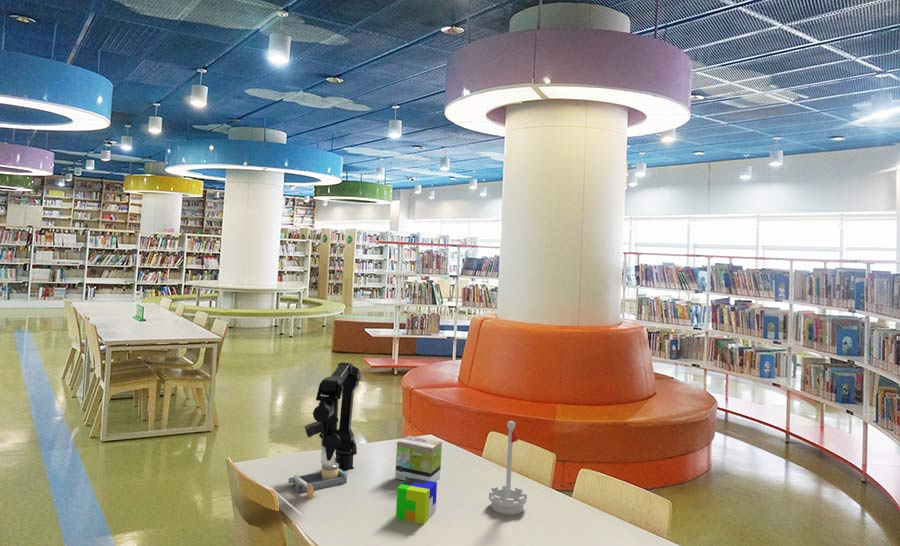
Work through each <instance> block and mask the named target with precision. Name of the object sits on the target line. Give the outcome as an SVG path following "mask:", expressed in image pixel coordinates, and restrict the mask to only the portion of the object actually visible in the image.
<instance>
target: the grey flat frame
mask: <svg viewBox="0 0 900 546" xmlns="http://www.w3.org/2000/svg"><path fill="white" fill-rule="evenodd" d="M297 476H298V477H300V478H301V479H302V480H304V481H305V482H307V483H308V484H311V485H313V486H314V487H313V491H315V490H320V489H325V488H329V487H333V486H340V485H343V484H347V481H348V473H347V472H345V471H342V470H341V469H339V468H338V478H335V479H330V480H325V481H321V480H322V471H317V472H313V473H307V474H304V475H297ZM294 482H295V480H294V476H292V477H288V483H287V484H289V483H294ZM290 487H291V488H292V489H294V490H295V491H296V492H297V493H299V494H302V493H307V487H305V486H304V485H300V484H299V483H296V484H294V485H290Z"/></svg>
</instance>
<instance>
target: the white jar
mask: <svg viewBox="0 0 900 546" xmlns="http://www.w3.org/2000/svg"><path fill="white" fill-rule="evenodd" d="M320 446H321V448H320V449H321V450H320V451H321V453H320V464H321V465H322V464H325V465H330V464H334V463H335V458H336V454H335V452H334V454H333V456H332V458H331V460H330V461H327V456H326V449H325V447H324V446H322V444H321V443H320ZM335 451H336V450H335Z"/></svg>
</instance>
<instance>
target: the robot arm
mask: <svg viewBox="0 0 900 546" xmlns="http://www.w3.org/2000/svg"><path fill="white" fill-rule="evenodd" d="M361 378H362V373H361V370H360V369H359V368H358V367H356V366H354V364H353V363H351V362H342V361H341V362H339V363H338V365H337V367H336V368H335V370H334V371H333V372H332V374H331V375H330V376H326V377H324V378H323V379H322V380H321V382H319V386H318V390H317V393H316V398H315V401H319V402H318V405H317V406H316V407H314V409H313V412H312V415H313V419H314V420H315V421H314V422H312V423H309V424H306V425H305V426H304V431H305V434H306V436H307V438H312V437H313V436H316V435H318V436H319V438H321V441H320V442H321V443H320V445H321V444H322V446H324V447H325V449H326V456H327V461H330V460H331V458H332V456H333V454H334V452H335V463H338V464H339V469H341V470H342V471H344V472H345V471H350V470H355V469H356V468H355V467H354V456H355V455H357V453H358V452H357V451H358V448H357V447H358V446H357V443H356V440H355V434H354V433H353V430H352V420H353V419H352V417H353V410H354V409H353V407H354V406H353V405H354V396H355V395H354V394H355V391H356V389H357V388H358V387H359V383H360V381H361ZM340 400H341V404H340V415H338V414H339V401H340ZM338 422H339V427H338ZM335 450H336V451H335Z"/></svg>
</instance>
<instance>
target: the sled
mask: <svg viewBox="0 0 900 546" xmlns="http://www.w3.org/2000/svg"><path fill="white" fill-rule="evenodd" d="M298 476H299V475H297V474H295V475H293V477H294V480H295V482H294V483H289V484H288V483H285V484H281V485H280V484H279V485H276V486H275V485H274V486H273V488H274V489H280V488H283V487H284V488H285V487H289V486H290V485H294V484H296V483H299V484H300V485H304V486H305V487H307V492H306V497H308V498H309V499H312V498H314V490H313V487H314V486H313V485H311V484H308V483H307V482H305V481H304V480H302V479H301V478H300V477H298ZM290 487H291V486H290Z"/></svg>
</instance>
